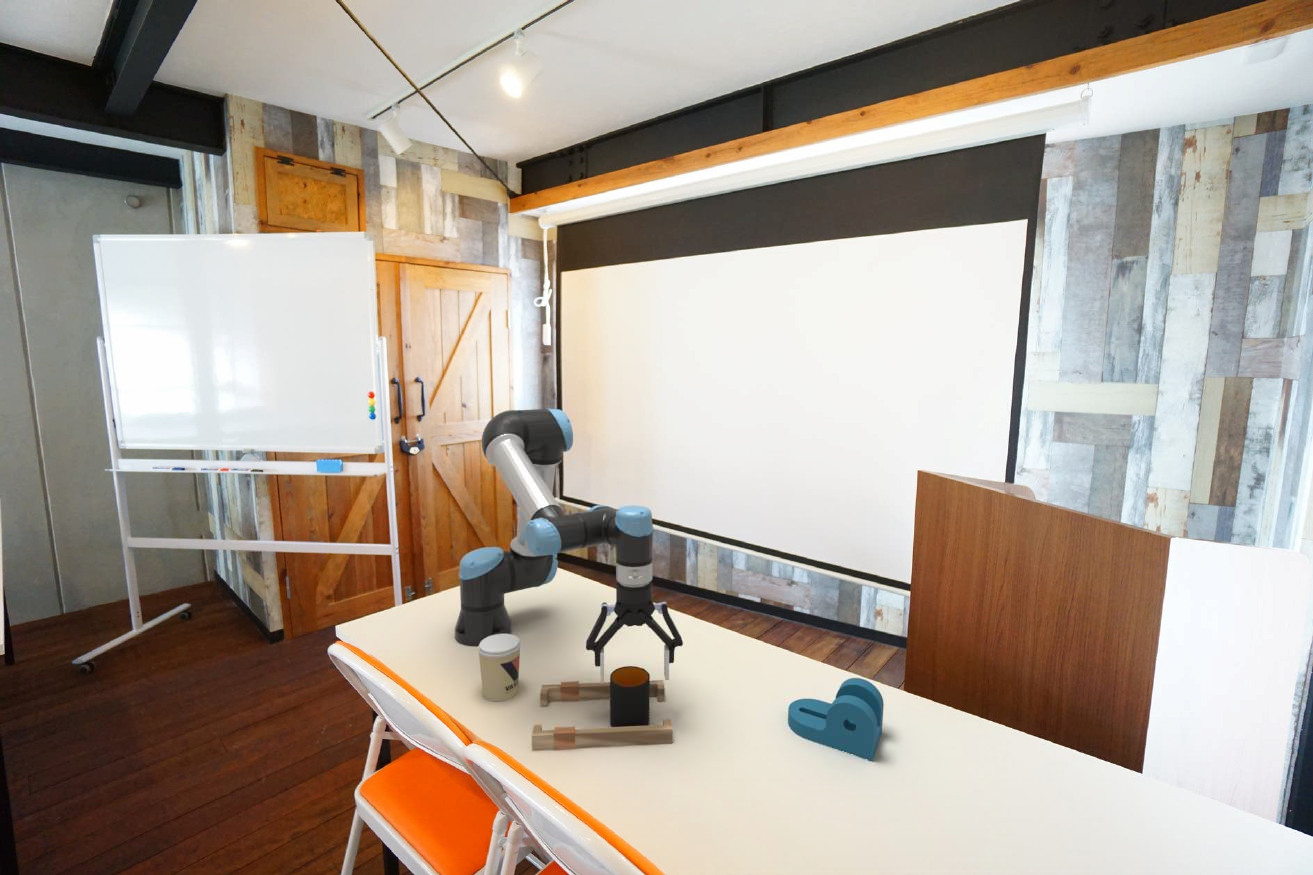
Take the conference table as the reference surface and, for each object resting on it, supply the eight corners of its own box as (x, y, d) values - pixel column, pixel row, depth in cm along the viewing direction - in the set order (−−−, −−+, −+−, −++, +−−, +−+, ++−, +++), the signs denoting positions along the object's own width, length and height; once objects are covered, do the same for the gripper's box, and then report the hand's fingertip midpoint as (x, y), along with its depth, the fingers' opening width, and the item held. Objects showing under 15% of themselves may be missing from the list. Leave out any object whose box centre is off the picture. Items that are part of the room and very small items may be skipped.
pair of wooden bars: (542, 696, 129) (542, 682, 128) (662, 691, 131) (663, 677, 131) (532, 750, 111) (531, 734, 110) (672, 743, 113) (672, 727, 113)
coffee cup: (510, 706, 125) (509, 654, 124) (471, 700, 127) (469, 649, 126) (528, 683, 134) (527, 635, 133) (491, 678, 136) (490, 631, 135)
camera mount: (881, 732, 118) (884, 684, 116) (872, 762, 109) (875, 710, 107) (796, 705, 127) (798, 661, 125) (781, 731, 118) (782, 683, 116)
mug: (662, 707, 125) (662, 662, 124) (639, 739, 114) (639, 690, 113) (628, 698, 129) (628, 654, 127) (602, 728, 118) (602, 681, 117)
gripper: (572, 589, 113) (574, 690, 115) (696, 585, 115) (695, 684, 118) (574, 576, 121) (576, 671, 123) (691, 573, 123) (690, 666, 125)
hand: (634, 678), depth 120 cm, fingers open, 13 cm apart
